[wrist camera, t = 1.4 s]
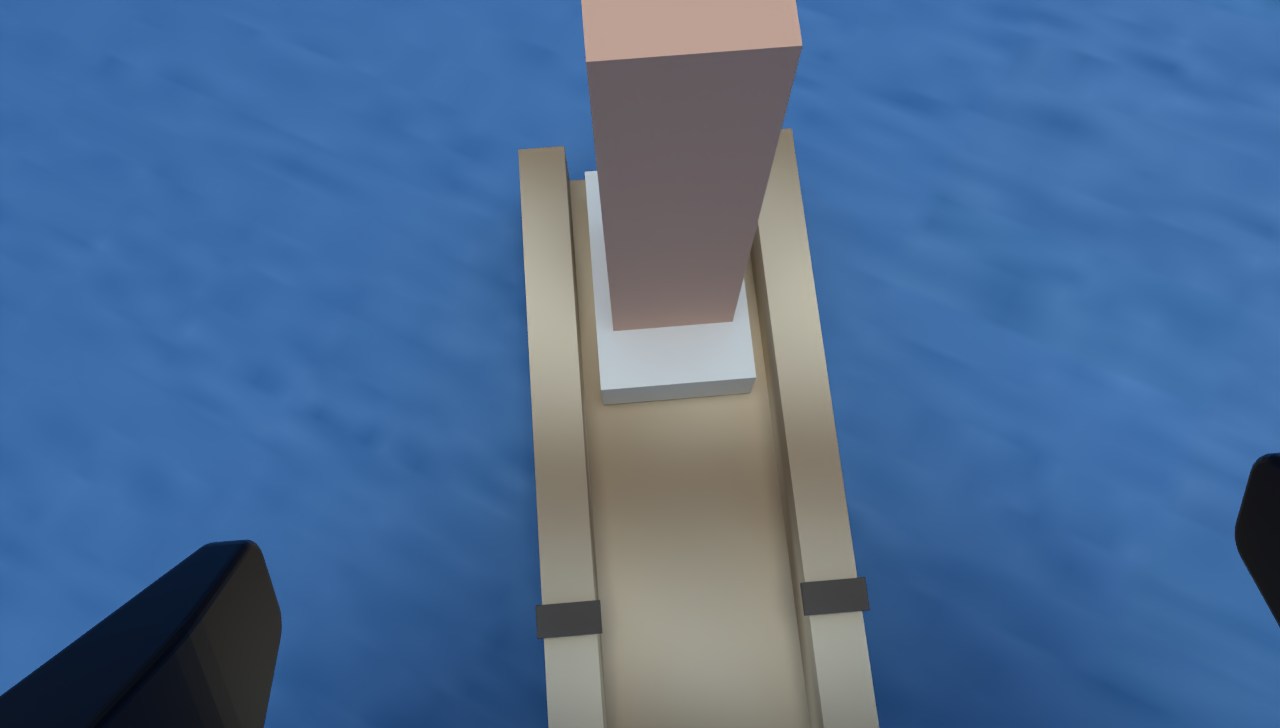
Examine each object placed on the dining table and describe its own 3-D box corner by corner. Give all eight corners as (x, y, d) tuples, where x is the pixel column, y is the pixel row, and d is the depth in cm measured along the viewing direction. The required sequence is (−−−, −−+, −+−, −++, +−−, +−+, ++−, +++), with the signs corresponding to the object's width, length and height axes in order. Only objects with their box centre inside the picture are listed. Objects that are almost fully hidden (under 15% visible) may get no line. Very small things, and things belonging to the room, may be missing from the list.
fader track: (880, 911, 19) (921, 956, 16) (568, 940, 19) (555, 989, 16) (779, 187, 24) (797, 122, 21) (528, 207, 24) (512, 145, 21)
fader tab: (750, 392, 21) (848, 139, 11) (603, 405, 21) (562, 162, 11) (725, 185, 22) (790, -210, 12) (588, 197, 22) (538, -192, 12)
